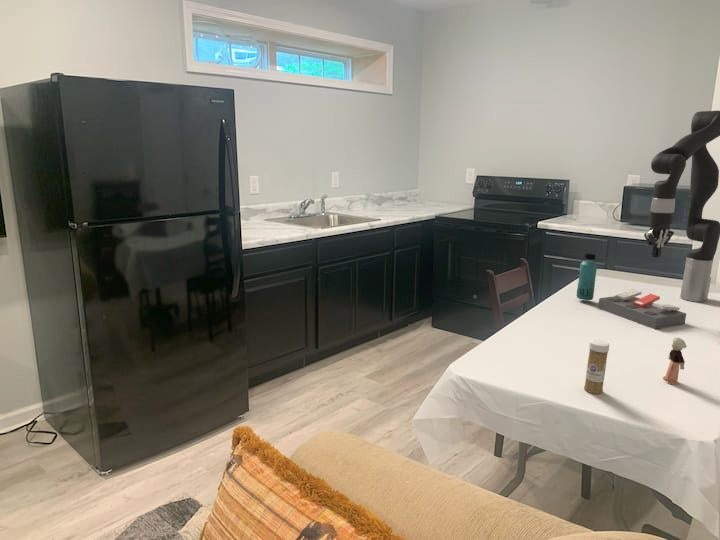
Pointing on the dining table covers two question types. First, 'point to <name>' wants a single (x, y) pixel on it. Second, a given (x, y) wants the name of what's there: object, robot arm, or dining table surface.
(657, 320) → the power strip
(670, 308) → the grey rocker far end
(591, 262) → the beverage bottle
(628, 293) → the grey rocker near bottle
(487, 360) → the dining table surface
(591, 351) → the sprinkles bottle
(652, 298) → the block
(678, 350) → the grandmother figurine
